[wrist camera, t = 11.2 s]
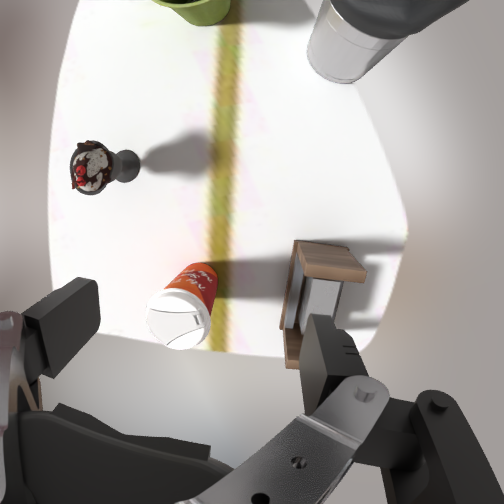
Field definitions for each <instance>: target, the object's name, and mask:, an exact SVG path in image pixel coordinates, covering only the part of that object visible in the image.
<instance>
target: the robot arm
mask: <svg viewBox="0 0 504 504" xmlns="http://www.w3.org/2000/svg"><path fill="white" fill-rule="evenodd" d="M467 1H469V0H323V2H322V6H321V8H320V11H319V14H318V17H317V20H316V23H315V26H314V29H313V32H312V34H311V37H310V40H309V43H308V47H307V56H308V60H309V62H310V64H311V66H312V67H313V69H314V70H315V71H316V72H317V73H318V74H319V75H321V76H322V77H323V78H325V79H327V80H329V81H332V82H336V83H351V82H355V81H357V80H358V79H360V78H361V77H362V76H363V75H365V74H366V73H367V72H368V71H369V70H370V69H371V68H373V66H375V65H376V64H377V63H378V62H379V61H380V60H382V59H383V58H384V57H385V56H386V55H387V54H388V53H390V52H391V51H392V50H393V49H394V48H395V47H397V46H398V45H399V44H400V43H401V42H402V41H403V40H404V39H406V38H407V37H408V36H409V35H411V34H415V33H418V32H420V31H422V30H423V29H425V28H426V27H427V26H429V25H430V24H432V23H433V22H435V21H436V20H438V19H439V18H441V17H443V16H444V15H446V14H448V13H450V12H451V11H453V10H455V9H456V8H458V7H460V6H461V5H463V4H464V3H466V2H467ZM100 320H101V317H100V306H99V295H98V285H97V282H96V281H95V280H91V279H86V278H81V277H77V278H75V279H74V280H72V281H71V282H69V283H68V284H66V285H65V286H63V287H62V288H60V289H57V290H54V291H53V292H52V293H50V294H49V295H47V297H44V298H43V299H41V301H39V302H37V303H36V304H34V305H33V306H31V307H30V308H29V309H27V310H26V311H24V312H23V313H21V314H19V313H18V312H14V311H4V312H0V504H323V503H324V502H325V501H326V500H327V498H328V497H329V496H330V494H331V493H332V492H333V491H334V489H335V488H336V487H337V485H338V484H339V483H340V481H341V480H342V479H343V477H344V476H345V475H346V473H347V472H348V470H349V469H350V468H351V466H352V465H353V463H354V462H356V463H361V464H367V465H371V466H377V467H380V469H381V474H382V478H383V483H384V488H385V492H386V498H387V503H388V504H504V494H503V492H502V490H501V488H500V485H499V483H498V481H497V479H496V477H495V474H494V472H493V470H492V468H491V466H490V464H489V462H488V460H487V458H486V456H485V454H484V452H483V450H482V448H481V446H480V444H479V442H478V440H477V438H476V437H475V435H474V433H473V431H472V429H471V427H470V425H469V423H468V422H467V420H466V418H465V416H464V415H463V413H462V411H461V409H460V407H459V406H458V404H457V402H456V401H455V400H454V399H453V398H452V397H451V396H449V395H448V394H446V393H444V392H441V391H438V390H426V391H423V392H421V393H420V394H419V395H418V397H417V399H416V401H415V402H409V401H404V400H399V399H394V398H391V397H390V394H389V391H388V389H387V387H386V386H385V385H384V384H382V383H381V382H380V381H378V380H376V379H374V378H372V377H369V375H368V373H367V370H366V368H365V366H364V363H363V361H362V359H361V356H360V355H359V352H358V350H357V348H356V345H355V343H354V341H353V338H352V337H351V336H350V335H349V334H348V333H346V332H345V331H344V330H341V329H336V327H335V324H334V322H333V319H332V317H331V315H324V314H314V313H310V314H309V316H308V319H307V324H306V328H305V333H304V337H303V341H302V346H301V350H300V356H299V370H300V378H301V386H302V393H303V401H304V409H305V414H300V415H299V416H297V418H295V419H294V420H293V421H292V422H291V423H290V424H289V425H288V426H286V427H285V428H284V429H283V430H282V431H281V432H280V433H279V434H277V435H276V436H275V437H274V438H273V439H272V440H270V441H269V442H268V443H267V444H266V445H265V446H264V447H262V448H261V449H260V450H258V451H257V452H256V453H255V454H254V455H252V456H251V457H250V458H249V459H247V460H246V461H245V462H244V463H242V464H241V465H240V466H238V467H237V468H236V469H233V468H231V467H230V466H228V465H226V464H224V463H222V462H220V461H218V460H216V459H213V458H210V450H211V446H209V445H204V444H198V443H193V442H188V441H182V440H178V439H173V438H169V437H148V436H147V437H146V436H134V435H125V434H122V433H120V432H118V431H116V430H115V429H113V428H111V427H110V426H108V425H106V424H104V423H103V422H101V421H100V420H98V419H96V418H95V417H93V416H92V415H90V414H87V413H84V412H81V411H79V410H76V409H74V408H71V407H68V406H66V405H64V404H61V403H59V404H58V405H57V406H56V407H55V409H54V410H53V411H52V412H51V411H43V405H42V392H41V382H40V379H39V376H40V375H41V374H43V375H46V376H48V377H50V378H53V379H54V378H55V377H56V376H57V375H58V374H59V373H60V371H61V370H62V369H63V368H64V367H65V366H66V365H67V363H68V362H69V361H70V360H71V359H72V358H73V357H74V356H75V355H76V354H77V353H78V351H79V350H80V349H81V348H82V347H83V346H84V345H85V344H86V343H87V342H88V341H89V340H90V338H91V337H92V336H93V335H94V334H95V333H96V332H97V330H98V329H99V326H100Z"/></svg>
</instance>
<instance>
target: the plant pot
mask: <svg viewBox="0 0 504 504" xmlns="http://www.w3.org/2000/svg"><path fill="white" fill-rule="evenodd" d="M152 1H154V2H155V3H157V4H159V5H162V6H166V7H169V8H171V9H173V10H174V11H175V12H176V13H178V14H179V15H180V16H181V17H183V18H184V19H185V20H186V21H187V22H189V23H190V24H193V25H196V26H207V25H213V24H215V23H217V22H219V21H221V20H222V19H223V18H224V17H225V16H226V15H227V13H228V12H229V9H230V2H231V0H196V1H194V2H193V3H191V1H193V0H152Z"/></svg>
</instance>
